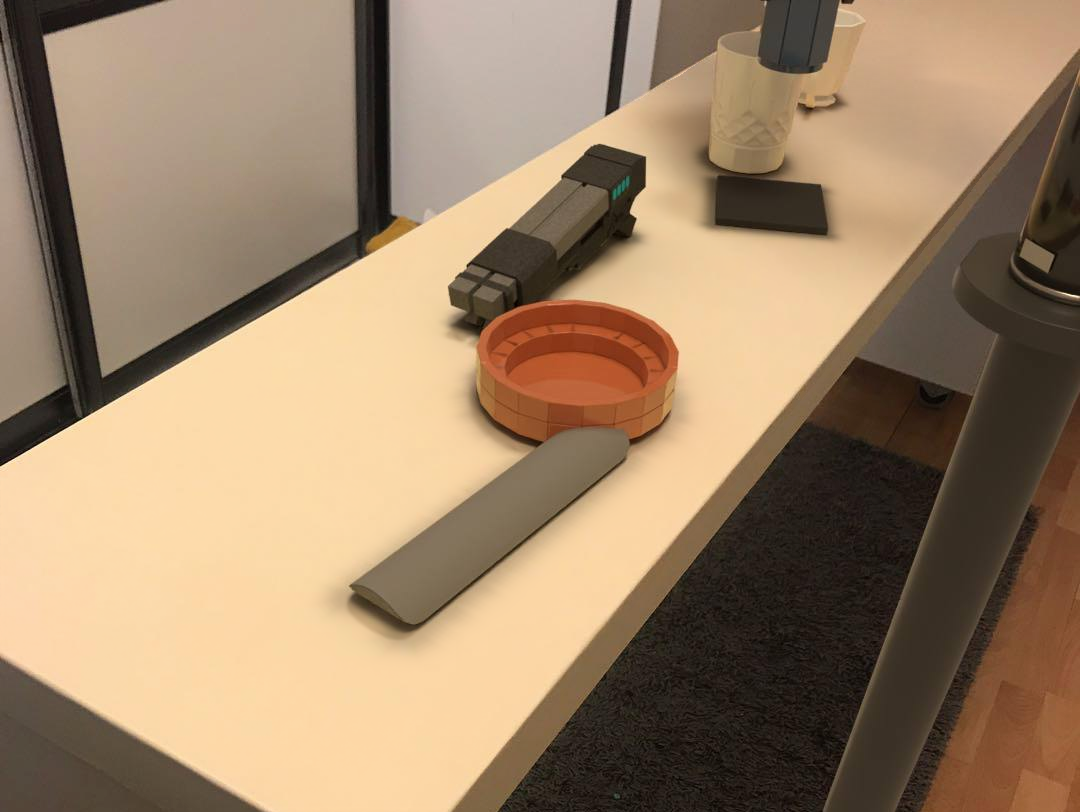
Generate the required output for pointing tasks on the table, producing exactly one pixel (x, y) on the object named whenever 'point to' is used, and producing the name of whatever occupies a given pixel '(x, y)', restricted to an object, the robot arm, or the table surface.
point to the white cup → (750, 107)
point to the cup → (833, 61)
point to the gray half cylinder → (490, 523)
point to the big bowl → (575, 369)
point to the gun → (553, 234)
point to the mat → (770, 204)
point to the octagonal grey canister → (796, 35)
